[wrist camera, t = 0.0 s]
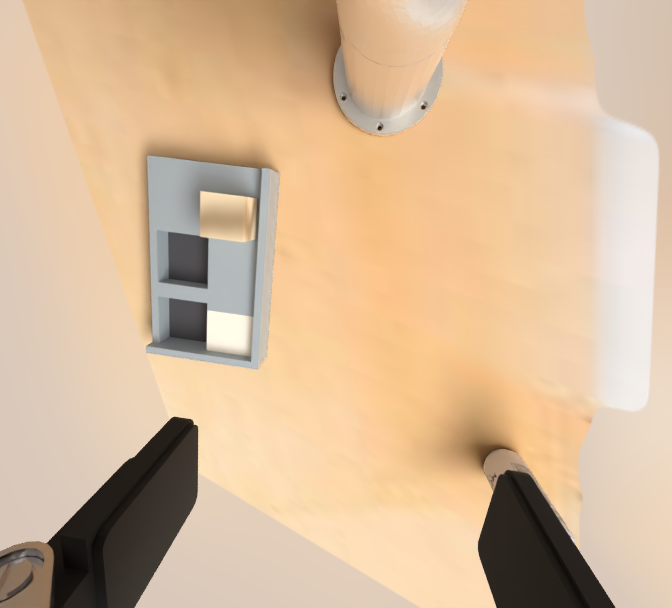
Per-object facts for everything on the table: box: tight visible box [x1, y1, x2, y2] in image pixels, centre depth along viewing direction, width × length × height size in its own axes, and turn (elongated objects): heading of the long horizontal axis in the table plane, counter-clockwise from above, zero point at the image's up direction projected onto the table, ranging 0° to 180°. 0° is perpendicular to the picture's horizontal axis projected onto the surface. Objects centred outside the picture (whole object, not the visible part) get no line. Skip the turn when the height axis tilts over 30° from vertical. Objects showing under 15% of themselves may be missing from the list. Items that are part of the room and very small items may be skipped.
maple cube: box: [200, 191, 259, 242], centre depth 39 cm, size 5×5×5 cm
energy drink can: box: [484, 449, 575, 544], centre depth 44 cm, size 6×6×15 cm
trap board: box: [146, 155, 280, 369], centre depth 45 cm, size 26×16×4 cm, turn 173°
